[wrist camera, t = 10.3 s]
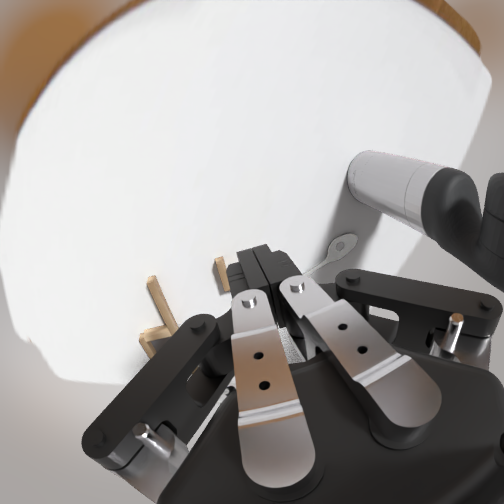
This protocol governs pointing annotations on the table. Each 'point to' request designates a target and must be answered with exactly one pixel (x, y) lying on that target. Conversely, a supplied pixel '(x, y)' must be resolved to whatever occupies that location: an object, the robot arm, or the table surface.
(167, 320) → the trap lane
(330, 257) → the spoon
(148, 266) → the table surface
